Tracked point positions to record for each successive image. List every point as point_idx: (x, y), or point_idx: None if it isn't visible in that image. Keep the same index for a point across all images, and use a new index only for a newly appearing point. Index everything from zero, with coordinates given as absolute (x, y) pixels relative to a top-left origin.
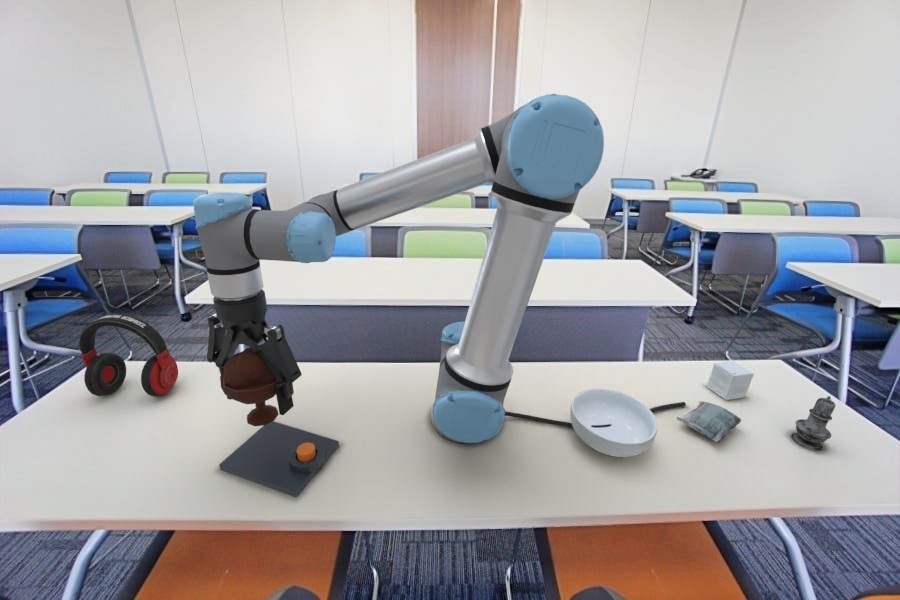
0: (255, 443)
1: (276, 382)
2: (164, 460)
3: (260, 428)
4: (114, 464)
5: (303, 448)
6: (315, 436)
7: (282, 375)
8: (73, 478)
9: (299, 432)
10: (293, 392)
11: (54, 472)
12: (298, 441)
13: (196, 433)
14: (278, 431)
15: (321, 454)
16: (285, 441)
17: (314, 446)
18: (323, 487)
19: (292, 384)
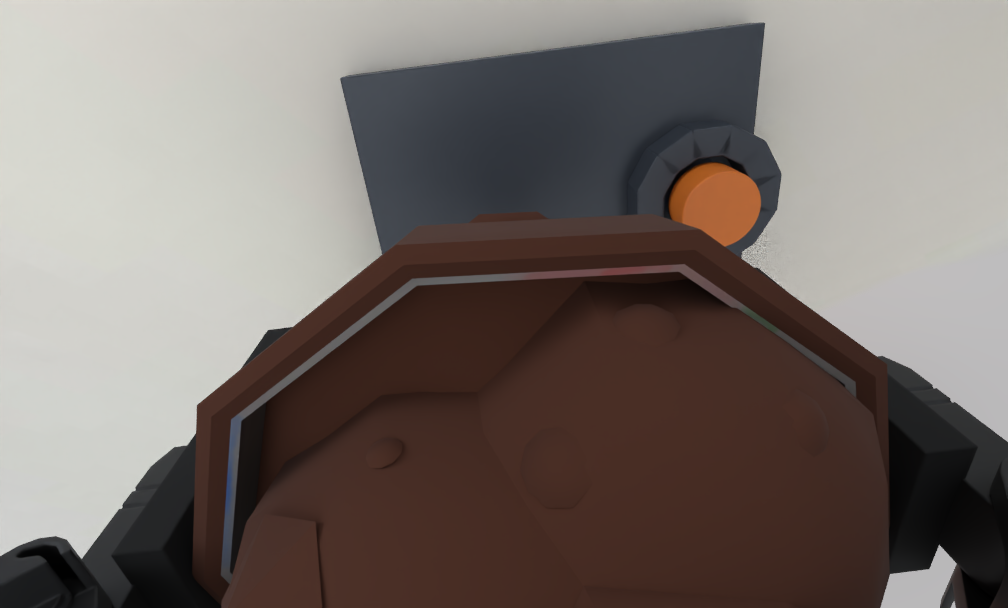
0: (424, 224)
1: (895, 558)
2: (206, 393)
3: (356, 146)
4: (105, 462)
5: (712, 215)
6: (639, 56)
7: (883, 460)
8: (87, 524)
9: (547, 74)
10: (909, 372)
11: (18, 536)
12: (585, 125)
13: (134, 271)
14: (449, 120)
15: (772, 171)
16: (531, 154)
17: (752, 181)
18: (789, 228)
19: (983, 426)
